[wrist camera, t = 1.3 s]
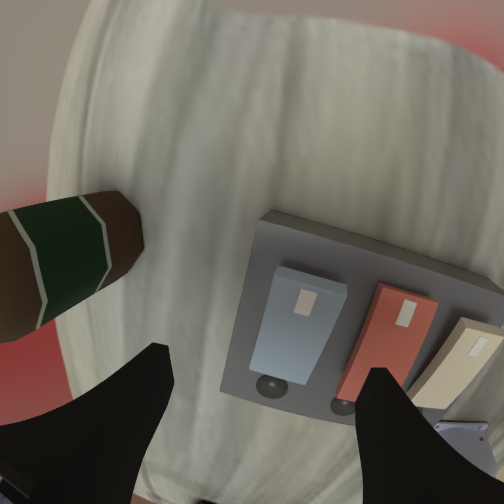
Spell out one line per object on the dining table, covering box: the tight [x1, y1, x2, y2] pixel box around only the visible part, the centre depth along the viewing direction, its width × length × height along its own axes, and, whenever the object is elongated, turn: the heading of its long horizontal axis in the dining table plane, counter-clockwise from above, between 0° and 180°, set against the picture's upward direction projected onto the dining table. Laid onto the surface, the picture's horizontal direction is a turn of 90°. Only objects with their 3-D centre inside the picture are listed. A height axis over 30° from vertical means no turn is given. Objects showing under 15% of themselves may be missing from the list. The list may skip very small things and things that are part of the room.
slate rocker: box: [249, 265, 347, 385], centre depth 15 cm, size 4×7×1 cm, turn 168°
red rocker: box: [336, 283, 439, 402], centre depth 14 cm, size 4×7×1 cm, turn 168°
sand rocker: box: [406, 317, 504, 409], centre depth 13 cm, size 4×7×1 cm, turn 168°
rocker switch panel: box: [220, 210, 504, 428], centre depth 18 cm, size 18×13×4 cm
